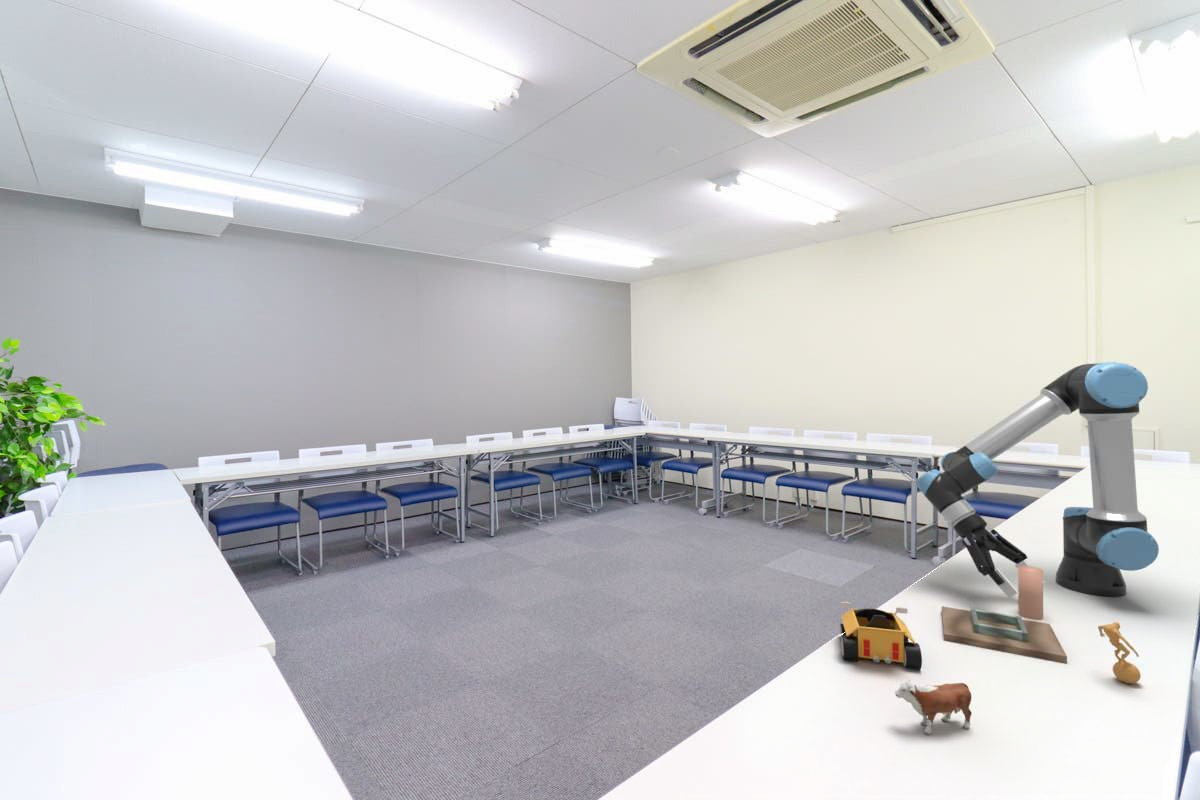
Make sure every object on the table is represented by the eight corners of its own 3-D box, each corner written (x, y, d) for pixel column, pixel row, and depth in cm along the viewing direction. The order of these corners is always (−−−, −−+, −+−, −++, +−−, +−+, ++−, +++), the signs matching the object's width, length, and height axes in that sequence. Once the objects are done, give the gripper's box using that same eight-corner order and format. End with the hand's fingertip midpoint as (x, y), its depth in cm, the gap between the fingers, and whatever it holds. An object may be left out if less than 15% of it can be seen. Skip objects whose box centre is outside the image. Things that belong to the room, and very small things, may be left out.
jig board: (1049, 629, 129) (1049, 615, 129) (1067, 663, 114) (1067, 647, 114) (941, 611, 141) (941, 598, 141) (944, 640, 125) (944, 625, 125)
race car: (907, 643, 124) (906, 598, 124) (924, 677, 110) (923, 626, 110) (837, 635, 129) (836, 592, 129) (844, 667, 115) (844, 618, 115)
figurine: (1156, 694, 102) (1157, 632, 102) (1122, 693, 103) (1122, 631, 103) (1118, 671, 111) (1119, 613, 110) (1087, 670, 111) (1087, 613, 111)
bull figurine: (891, 721, 96) (891, 676, 96) (962, 716, 97) (961, 671, 97) (907, 737, 91) (907, 690, 91) (981, 731, 92) (981, 685, 92)
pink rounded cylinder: (1041, 613, 138) (1041, 567, 138) (1045, 621, 134) (1045, 573, 134) (1016, 610, 141) (1016, 564, 141) (1019, 617, 137) (1019, 570, 137)
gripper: (977, 521, 159) (1038, 587, 146) (929, 533, 147) (990, 607, 134) (998, 506, 154) (1062, 574, 141) (949, 518, 142) (1014, 592, 129)
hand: (1027, 590), depth 138 cm, fingers open, 13 cm apart
